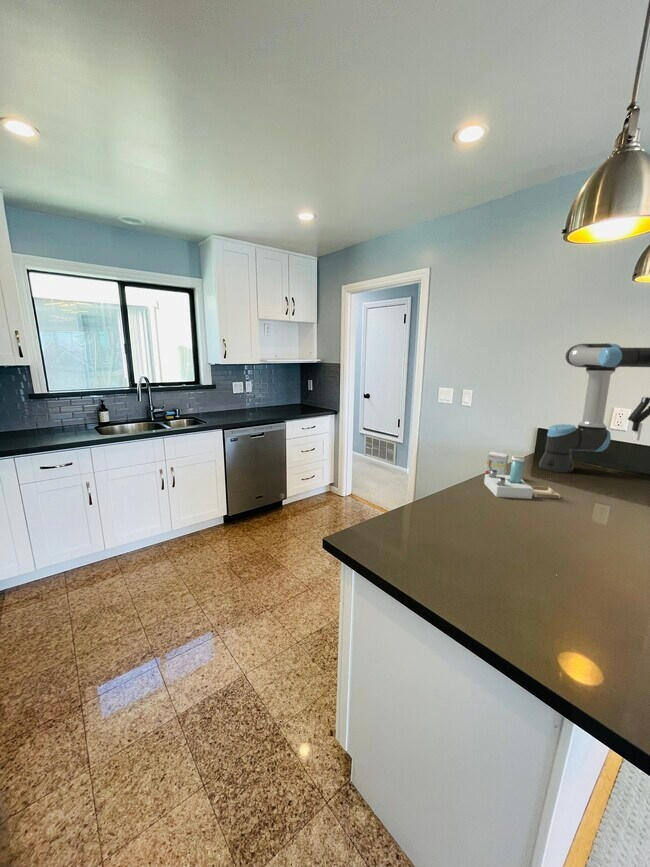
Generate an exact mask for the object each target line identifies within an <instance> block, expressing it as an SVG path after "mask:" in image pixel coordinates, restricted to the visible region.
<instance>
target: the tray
mask: <svg viewBox="0 0 650 867" xmlns="http://www.w3.org/2000/svg"><path fill="white" fill-rule="evenodd" d="M530 486H531V487H532V488H533V494H532V497H534V498H542V499H543V498H545V499H547V498H548V499H561V494H559V493H558V492H557V491H555V490H554V489H552V488H551V487H549V486H542V485H541V486H539V485H538V486H537V485H536V486H535V485H530Z"/></svg>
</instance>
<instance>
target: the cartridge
mask: <svg viewBox="0 0 650 867" xmlns="http://www.w3.org/2000/svg"><path fill="white" fill-rule="evenodd" d="M525 460H526V458H525V456H524V455H512V457H511V465H510V473H509V475H510V480H509V482H510V483H517V484H521V479H522V477H523V469H524V462H525Z"/></svg>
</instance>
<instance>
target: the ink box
mask: <svg viewBox="0 0 650 867" xmlns="http://www.w3.org/2000/svg"><path fill="white" fill-rule="evenodd" d="M486 459H487V460H486V467H485V474H490V471H491V470H497V475H507V471H508V470H507V469H508V462H509V454H508V453H502V452H496V451H490V452H488V453H487V458H486Z"/></svg>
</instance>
